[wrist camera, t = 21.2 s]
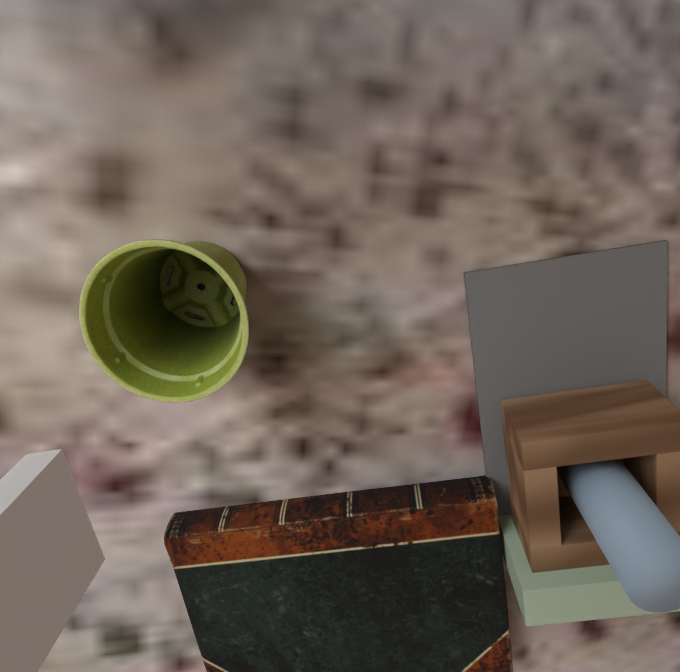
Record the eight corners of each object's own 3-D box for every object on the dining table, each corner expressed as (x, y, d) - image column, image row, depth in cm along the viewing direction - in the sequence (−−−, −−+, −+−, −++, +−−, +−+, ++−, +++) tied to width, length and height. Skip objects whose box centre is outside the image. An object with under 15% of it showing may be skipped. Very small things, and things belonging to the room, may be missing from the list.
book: (224, 666, 53) (504, 641, 50) (215, 704, 49) (514, 679, 47) (175, 506, 47) (487, 469, 44) (160, 535, 43) (497, 497, 41)
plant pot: (287, 239, 39) (266, 269, 30) (255, 364, 42) (228, 421, 34) (150, 198, 38) (91, 217, 30) (127, 328, 41) (68, 377, 33)
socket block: (500, 399, 41) (521, 442, 36) (645, 379, 40) (691, 420, 35) (511, 516, 44) (532, 573, 39) (646, 500, 43) (688, 556, 38)
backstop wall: (496, 513, 45) (522, 590, 38) (656, 494, 44) (716, 570, 36) (499, 545, 46) (525, 626, 39) (656, 527, 45) (715, 607, 37)
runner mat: (463, 272, 39) (464, 273, 39) (665, 240, 38) (667, 240, 37) (490, 514, 45) (490, 516, 45) (663, 493, 44) (665, 495, 44)
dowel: (551, 437, 41) (624, 557, 30) (609, 428, 40) (706, 546, 29) (555, 484, 42) (626, 616, 31) (611, 476, 42) (705, 607, 31)
